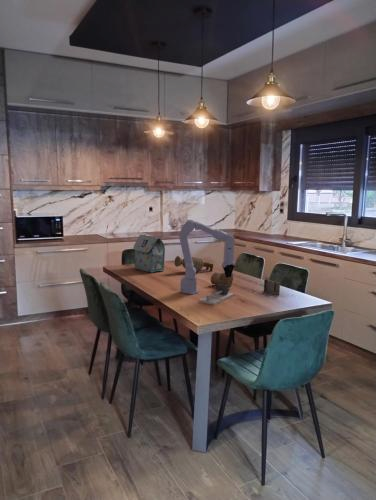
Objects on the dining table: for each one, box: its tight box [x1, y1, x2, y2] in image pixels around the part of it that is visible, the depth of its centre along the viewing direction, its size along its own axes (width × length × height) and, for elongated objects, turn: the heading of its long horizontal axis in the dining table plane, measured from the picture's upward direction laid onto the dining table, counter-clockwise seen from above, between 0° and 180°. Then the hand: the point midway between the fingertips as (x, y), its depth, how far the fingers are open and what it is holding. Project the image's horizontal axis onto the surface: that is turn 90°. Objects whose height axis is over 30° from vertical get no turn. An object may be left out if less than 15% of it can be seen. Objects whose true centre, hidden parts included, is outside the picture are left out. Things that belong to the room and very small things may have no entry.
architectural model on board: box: [263, 276, 281, 296], centre depth 245 cm, size 11×3×10 cm, turn 29°
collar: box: [216, 284, 229, 295], centre depth 235 cm, size 3×6×5 cm, turn 56°
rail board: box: [198, 290, 235, 306], centre depth 231 cm, size 24×10×4 cm, turn 146°
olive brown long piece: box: [174, 255, 214, 272], centre depth 300 cm, size 10×12×30 cm
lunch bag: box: [133, 234, 166, 273], centre depth 303 cm, size 23×16×27 cm
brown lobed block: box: [210, 272, 234, 289], centre depth 256 cm, size 9×16×10 cm, turn 33°
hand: (228, 277), depth 240 cm, fingers closed
